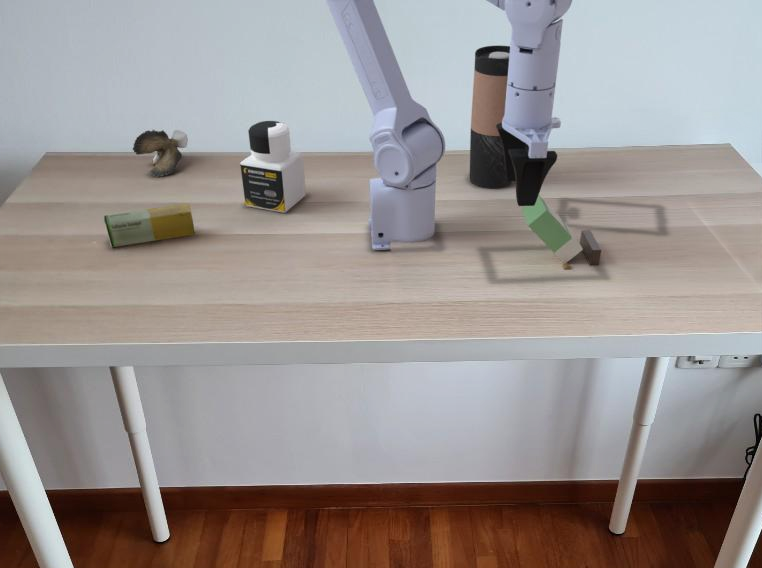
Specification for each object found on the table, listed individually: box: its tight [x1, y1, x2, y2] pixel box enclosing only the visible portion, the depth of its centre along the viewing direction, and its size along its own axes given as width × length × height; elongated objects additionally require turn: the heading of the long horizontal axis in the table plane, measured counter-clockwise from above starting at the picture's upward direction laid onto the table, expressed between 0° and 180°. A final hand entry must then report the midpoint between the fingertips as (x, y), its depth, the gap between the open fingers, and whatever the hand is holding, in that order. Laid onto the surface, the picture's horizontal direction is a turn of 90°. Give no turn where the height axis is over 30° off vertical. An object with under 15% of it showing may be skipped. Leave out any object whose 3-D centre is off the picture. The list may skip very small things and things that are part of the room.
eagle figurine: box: [132, 129, 189, 178], centre depth 136 cm, size 8×7×9 cm
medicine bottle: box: [239, 120, 307, 214], centre depth 123 cm, size 7×7×12 cm
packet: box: [520, 194, 583, 264], centre depth 107 cm, size 8×5×3 cm
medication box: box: [103, 203, 197, 249], centre depth 115 cm, size 12×3×4 cm, turn 109°
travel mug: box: [469, 45, 513, 189], centre depth 127 cm, size 8×8×20 cm
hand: (520, 192), depth 104 cm, fingers open, 7 cm apart
